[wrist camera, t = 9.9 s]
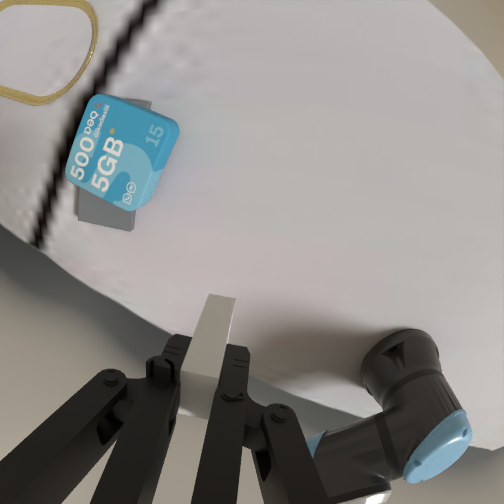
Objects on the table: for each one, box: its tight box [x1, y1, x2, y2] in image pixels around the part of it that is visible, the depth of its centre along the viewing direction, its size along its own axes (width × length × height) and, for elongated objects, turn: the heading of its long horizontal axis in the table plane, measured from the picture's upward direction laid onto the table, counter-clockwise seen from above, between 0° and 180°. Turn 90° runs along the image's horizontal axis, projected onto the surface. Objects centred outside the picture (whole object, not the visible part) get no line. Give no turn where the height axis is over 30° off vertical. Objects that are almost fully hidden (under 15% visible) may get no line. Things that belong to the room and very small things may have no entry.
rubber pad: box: [78, 98, 152, 232], centre depth 39 cm, size 18×9×2 cm, turn 168°
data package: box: [65, 94, 179, 211], centre depth 35 cm, size 12×4×12 cm
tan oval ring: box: [0, 0, 98, 106], centre depth 31 cm, size 19×35×2 cm, turn 65°
